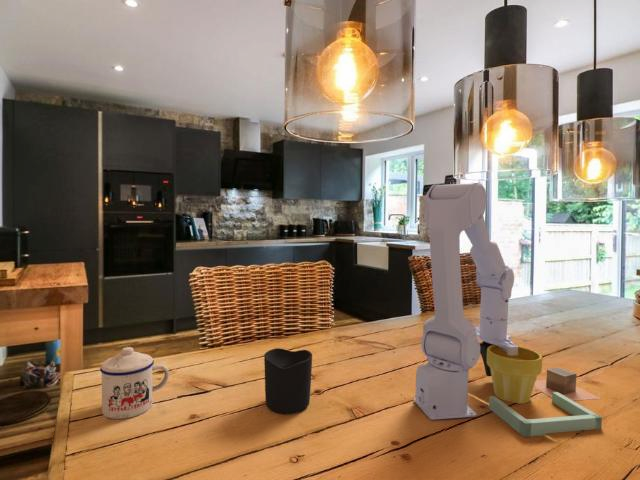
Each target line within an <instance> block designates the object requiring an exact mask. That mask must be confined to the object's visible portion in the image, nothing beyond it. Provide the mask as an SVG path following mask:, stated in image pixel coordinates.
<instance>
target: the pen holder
mask: <svg viewBox="0 0 640 480" xmlns="http://www.w3.org/2000/svg"><path fill="white" fill-rule="evenodd" d="M263 355H264V356H263V357H264V361H263V362H264V363H263V364H264V393H265V405H266V407H267V408H268V410H270V411H271V412H273V413H275V414H280V415H295V414H298V413H301V412H303V411H305V410H306V409H307V408H308V407H309V405H310V398H311V387H312V386H311V385H312V384H311V383H312V365H313V353H312V352H311V351H310V350H307V349H300V350H295V351H291V350H288V349H286V348H280V347H279V348H277V347H276V348H272V349H270V350H267V351H266V352H265V353H264V354H263Z"/></svg>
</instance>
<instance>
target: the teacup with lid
mask: <svg viewBox="0 0 640 480" xmlns="http://www.w3.org/2000/svg"><path fill="white" fill-rule="evenodd" d="M99 370H100V372H101V413H102V416H105V417H106V418H108V419H114V420H120V419H121V420H123V419H129V418H133V417H136V416H139V415H141V414H144V413H145V412H147V411H148V410H149V409H150V408H151V407H152V405H153V392H156V391H159V390H161V389H162V388H163V387H164V386H165V385H166V384H167V382H168V380H169V377H170V376H169V375H170V371H169V369H168V367H167V366H166V365H164V364H154V358H153V357H152V356H151V355H149V354H146V353H142V352H138V351H134V348H133V347H131V346H126V347H123V348H122V349H121V352H120V353H118V354H116V355H115V356H112V357H109V358H107V359H106V360H105V361H103V362H102V364H101V365H100V368H99ZM157 370H162V371H164V377H163V379H162V380H161V382H160V383H158V384H157V385H155V386H153V371H157Z"/></svg>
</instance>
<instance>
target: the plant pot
mask: <svg viewBox="0 0 640 480" xmlns="http://www.w3.org/2000/svg"><path fill="white" fill-rule="evenodd" d="M517 346H518V355H515V356H509V355H507V353H506V352H505V351H503V350H501V349H499V346H496V345H491V346H489V347H488V348H487V364H488V366H489V367H490V370H491V376H490V377H491V380H492V387H493V392H494V396H495V397H497V398H498V399H500V400H502V401H506V402H509V403H512V404H513V403H514V404H527V403H528V402H530V400H531V398H532V397H531V396H532V394H533V391H534V388H535V387H534V384H535V381H536V380H537V378H538V376H539V375H541V374H542V371H543V370H542V368H543V356H542V354H540V353H539V352H538V351H536V350H534V349H530V348H527V347H524V346H520V345H517Z"/></svg>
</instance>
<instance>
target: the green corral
mask: <svg viewBox="0 0 640 480" xmlns="http://www.w3.org/2000/svg"><path fill="white" fill-rule="evenodd" d="M551 403H552V404H555V405H556V406H557V407H559V408H561V409H562V410H564V411H566V412H567V413H568V414H571V415H570V416H569V415H567V416H554V417H544V418H543V417H542V418H540V417H539V418H530V419H528V418H525V417H524V416H522V415H521V414H519V412H517V411H515V410H514V409H513V408H511V407H510V406H508V404H506V403H505V402H503V400H502V399H500V398H499V397H497V396H496V395H494V396H493V395H492V396H489V398H488V409H489V410H490V411H491V412H493V413H494V414H495V415H496V416H497V417H499V418H500V419H501V420H502V421H504V422H505V423H506V424H507V425H508V426H510V427H511V428H513V429H514V430H515V432H517V433H518V434H519V435H521V436H522V437H524V438H530V437H532V438H533V437H541V436H548V434H553V433H564V432H565V433H567V432H577V431H589V430H600V429H602V422H603V417H602V416H600V415H599V414H597V413H595V412H593V411H592V410H590V409H589V408H586V407H585V406H582V405H581V404H579V403H577V402H575V401H572V400H571V399H569V398H567V397H565V396H564V395H562V394H560V393H558V392H552V398H551Z"/></svg>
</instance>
